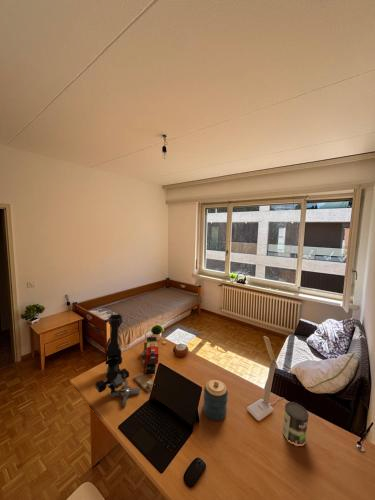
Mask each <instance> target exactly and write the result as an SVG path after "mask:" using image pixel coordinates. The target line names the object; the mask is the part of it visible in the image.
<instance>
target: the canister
mask: <svg viewBox="0 0 375 500" xmlns="http://www.w3.org/2000/svg"><path fill="white" fill-rule="evenodd" d="M228 394H229V392H228V389H227V386H226V384H225V383H224V382H223V381H221V380H218V379H211V380H208V381H207V382H206V383H205V386H204V388H203V402H202V403H203V404H202V410H203V414H204V415H205V416H206V417H207V418H208V419H209V420H211V421H213V422H214V421H215V422H217V421H222V420H223V419H225V417H226V415H227V410H228V409H227V404H228V396H229V395H228Z"/></svg>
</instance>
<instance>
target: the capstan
mask: <svg viewBox="0 0 375 500" xmlns="http://www.w3.org/2000/svg"><path fill="white" fill-rule="evenodd" d="M128 384H129V381H128V380H127V379H126V380H125V382H124V384H123V386H122V387H121V388H120V389H118V390H116V389H115V391H111V390H110V398H113V397H120V398H121V399H122V407H125V406H127V399H128V398H129V397H131V395H136V394H137V395H138V394H140V393H141V387H134V388H131V387H130V386H129V385H128Z"/></svg>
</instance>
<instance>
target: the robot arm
mask: <svg viewBox="0 0 375 500" xmlns="http://www.w3.org/2000/svg"><path fill="white" fill-rule="evenodd" d="M122 323H123V315H121V313H117V314H116V313H115V314H110V316H109V317H108V324H109V325H110V342H109V344H108V345H107V349H106V352H105V365H107V368H106V374H105V378H106V380H103V379H100V380H99V381H97V382H96V383H95V384H94V388H95V389H96V390H97V391H98V393H102V392H104V391H106V389H107V388H109V390H110V392H111V391H116V389H118V388H119V387H121V386H122V387H123V386H124V384H123V383H125V381H126V380H127V378H130V371H129V370H127V369H126V368H123V369H120V365H122V363H123V357H122V349H121V348H120V344H119V328H120V326H121V324H122Z"/></svg>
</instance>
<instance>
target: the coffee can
mask: <svg viewBox="0 0 375 500" xmlns="http://www.w3.org/2000/svg"><path fill="white" fill-rule="evenodd" d="M283 415H284V416H283V426H282V431H283V432H282V434H283V433H284V435H285V437H286V438H287V439H288V440H290V441H291V442H294V443H297V444H303V443H304V442H305V443H306V439H307V431H308V423H309V422H308V421H309V417H310V416H309V412H308V411H307V409H306V408H305V407H304V406H303V405H301V404H300V403H298V402H295V401H288V402H286V403H285V405H284V414H283Z"/></svg>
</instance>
